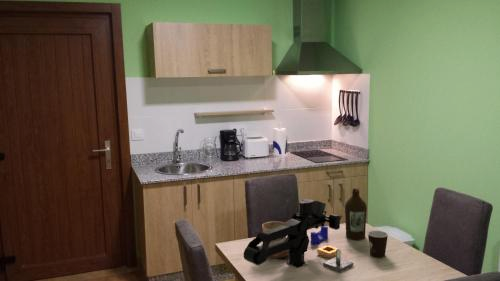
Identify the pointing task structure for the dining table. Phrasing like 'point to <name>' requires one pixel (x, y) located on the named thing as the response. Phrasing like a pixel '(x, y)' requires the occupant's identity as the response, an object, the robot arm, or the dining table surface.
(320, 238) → the cable clip
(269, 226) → the ceramic jug
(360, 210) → the brown bottle
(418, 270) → the dining table surface
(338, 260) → the post
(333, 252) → the wooden square frame
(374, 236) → the coffee mug
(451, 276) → the dining table surface
